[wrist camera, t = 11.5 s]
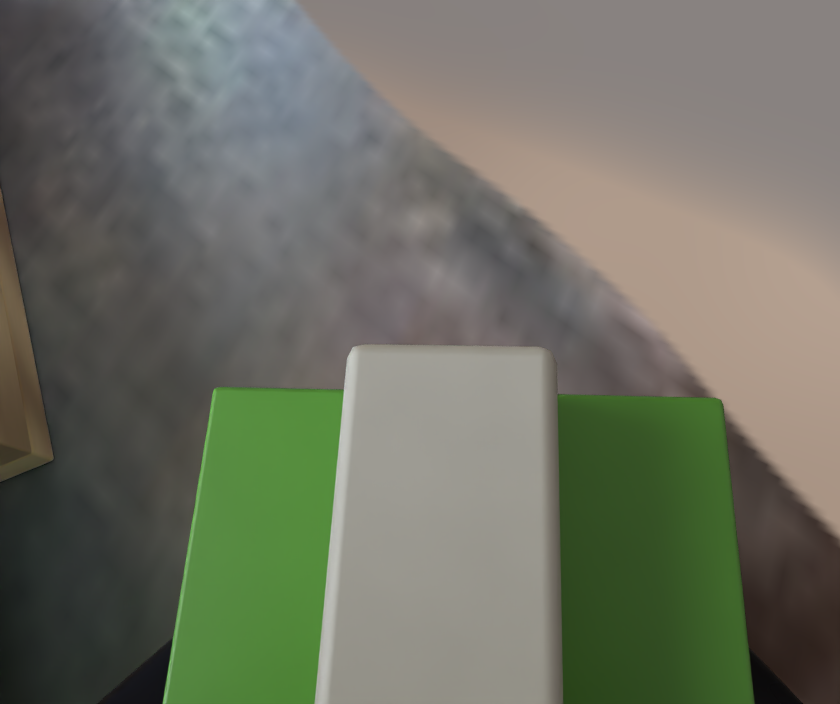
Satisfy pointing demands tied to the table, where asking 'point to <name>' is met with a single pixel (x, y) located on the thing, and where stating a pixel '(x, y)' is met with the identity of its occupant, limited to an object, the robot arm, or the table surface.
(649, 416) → the green block white ridge
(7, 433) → the cabinet
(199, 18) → the table surface
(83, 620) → the table surface
